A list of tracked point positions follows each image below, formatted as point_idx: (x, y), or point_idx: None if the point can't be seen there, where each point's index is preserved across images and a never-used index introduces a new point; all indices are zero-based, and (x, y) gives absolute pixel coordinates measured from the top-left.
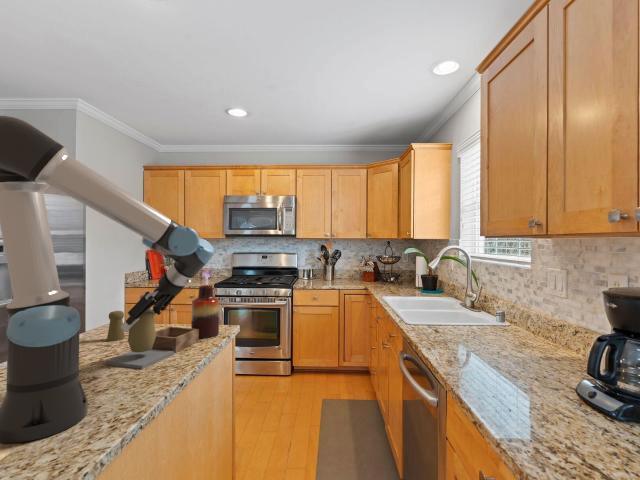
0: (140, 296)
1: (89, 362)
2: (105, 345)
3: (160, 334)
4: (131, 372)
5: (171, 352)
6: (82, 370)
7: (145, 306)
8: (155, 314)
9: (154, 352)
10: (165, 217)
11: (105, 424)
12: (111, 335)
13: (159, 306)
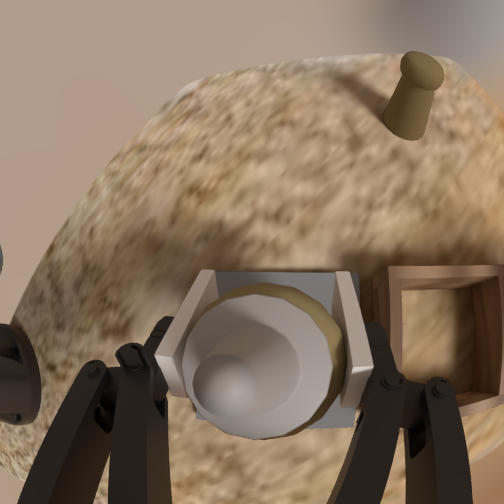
0: (203, 360)
1: (216, 214)
2: (353, 136)
3: (449, 280)
4: (171, 401)
5: (339, 427)
6: (160, 252)
7: (86, 499)
8: (351, 406)
9: None
10: None
11: (30, 458)
12: (390, 112)
13: (335, 483)
